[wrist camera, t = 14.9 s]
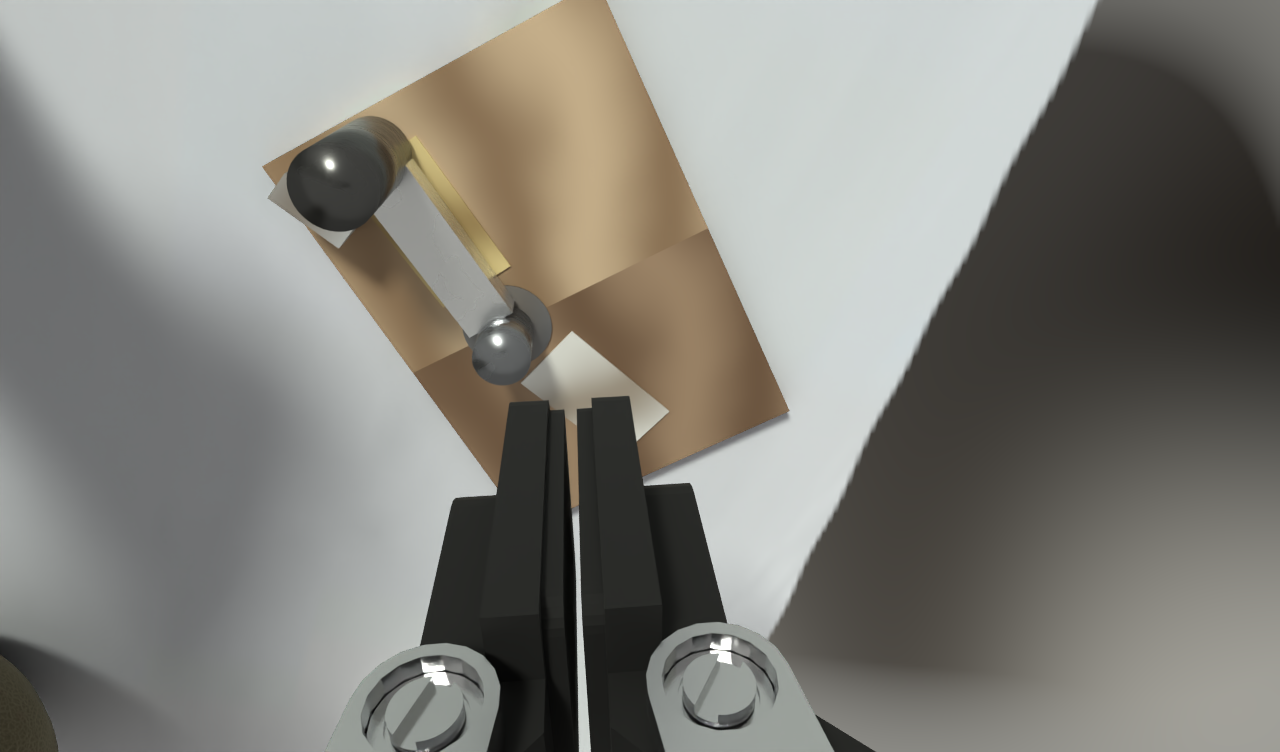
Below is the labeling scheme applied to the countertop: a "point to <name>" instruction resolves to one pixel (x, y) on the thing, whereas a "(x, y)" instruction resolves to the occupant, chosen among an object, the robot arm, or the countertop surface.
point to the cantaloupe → (22, 714)
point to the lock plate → (562, 246)
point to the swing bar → (412, 234)
